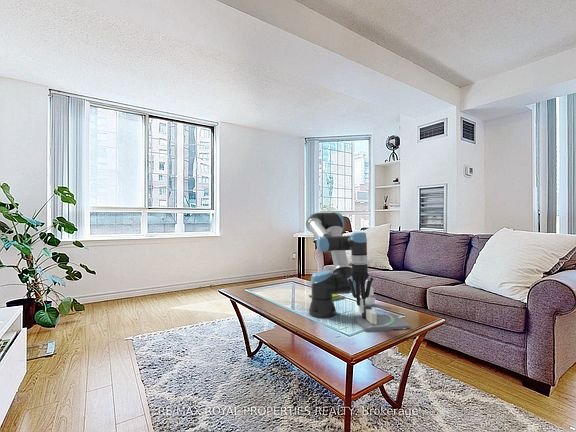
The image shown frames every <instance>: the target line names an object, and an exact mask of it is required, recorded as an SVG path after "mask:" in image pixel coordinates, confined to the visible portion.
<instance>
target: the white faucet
mask: <svg viewBox="0 0 576 432" xmlns="http://www.w3.org/2000/svg"><path fill="white" fill-rule="evenodd" d="M367 281H368V280H366V281H365V291H366V286H367ZM374 295H375V294H374V287H373V286H371V288H370V293H369V297H367V298H366V299H365V304H367V305H371V306H372V305H374V303H375V301H376V300H377V299H376V298H374V297H373V296H374ZM360 298H362V297H361V296H360Z"/></svg>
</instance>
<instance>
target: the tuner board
mask: <svg viewBox="0 0 576 432" xmlns="http://www.w3.org/2000/svg"><path fill="white" fill-rule="evenodd" d="M352 318H353V319H352V320H354V321H355V322H356V324H357V325H358V326H359V327H361V329H362V330H363V331H364V332H366V333H367V332H377V331H379V332H381V331H394V330H393V329H399V330H404V329H403V328H410V329H411V325H410V324H409V323H407V322H406V321H404V320H403V319H401V318H400V317H398V316H397V315H396V314H394V313H388V314H387V313H386V314H377V324H376V325H375V324H371V323H370V322H369V321H368V320H367V319H364V318H362V315H354V316H352Z"/></svg>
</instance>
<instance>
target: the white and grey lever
mask: <svg viewBox="0 0 576 432" xmlns="http://www.w3.org/2000/svg"><path fill="white" fill-rule="evenodd" d="M363 307H364V313H361V316H362V318H364V319H367V320H368V321H369V322H370V323H371V324H375V325H376V324H377V315H378V314H377V313H376V312H375V311H374V310H373V306H372V305H367V304H365V305H363Z"/></svg>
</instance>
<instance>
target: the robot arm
mask: <svg viewBox="0 0 576 432" xmlns="http://www.w3.org/2000/svg"><path fill="white" fill-rule="evenodd" d="M305 226H306V229H307V231H308V232H310V233H311V234H312V235H313V236H314V237H315V239H316V248H317V250H318V251H319V252H330V253H331V258H332V262H333V266H334V269H333V270H332V271H331V270H320V271H315V272H314V273H312V275H311V276H310V277H311V278H310V284H311V285H310V286H311V294H312V297H311V302H310V305H309V307H308V314H309V316H311V315H312V316H311V317H315V318H333V317H334V316H336V315H337V309H336V305H335V303H334V300H333V299H332V295H333V294H338V295H344V294H348V295H349V294H352V295H351V296H352V297H353V298H354V299H356V305H357V306H358V312H359V313H360V314H362V313H364V307H363V305H365V299H366V298H367V297H369V293H370V288H371V287H372V282H373V281H374V277H372V276H370V274H369V273H368V272H369V271H368V270H369V269H368V246H367V245H368V242H367V241H368V238H367V233H366V232H365V231H364V232H363V231H362V232H361V231H359V232H357V231H356V232H351V233H350V235H342V232H343V230H344V229H345V218H344V216H343V215H342V213H340V212H336V211H332V212H315V213H313V214H310V215H309V217H308V218H307V219H306V222H305ZM346 251H351V263H352V264H351V266H350V265H349V260H348V257H347V253H346ZM366 280H368V281H367V286H366V291H365V281H366ZM361 297H362V298H361Z"/></svg>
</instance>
